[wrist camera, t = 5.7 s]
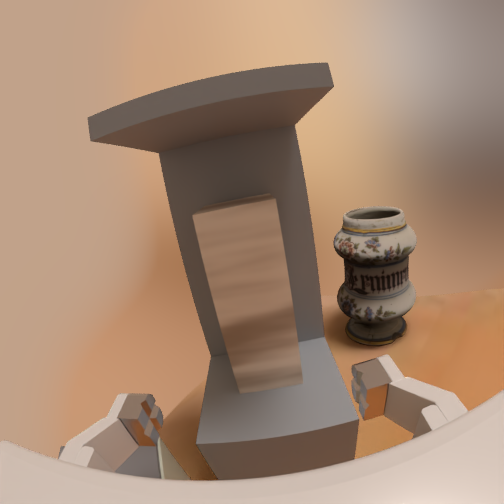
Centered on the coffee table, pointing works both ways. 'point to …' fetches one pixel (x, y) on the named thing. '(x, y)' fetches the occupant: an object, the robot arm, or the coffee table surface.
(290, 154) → the grey podium
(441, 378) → the coffee table surface
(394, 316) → the apothecary jar
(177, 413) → the coffee table surface
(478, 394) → the coffee table surface
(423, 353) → the coffee table surface
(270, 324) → the block
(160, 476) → the stand
